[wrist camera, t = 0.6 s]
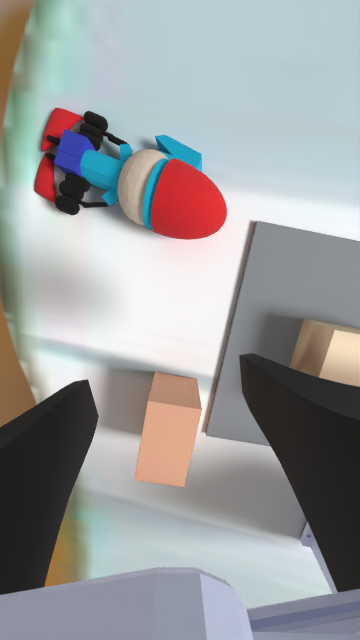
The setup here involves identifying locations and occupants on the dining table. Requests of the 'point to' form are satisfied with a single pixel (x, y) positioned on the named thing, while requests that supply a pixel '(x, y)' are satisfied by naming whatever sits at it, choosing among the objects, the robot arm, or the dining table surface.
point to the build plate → (282, 311)
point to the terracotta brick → (169, 430)
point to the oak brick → (328, 352)
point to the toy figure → (130, 178)
